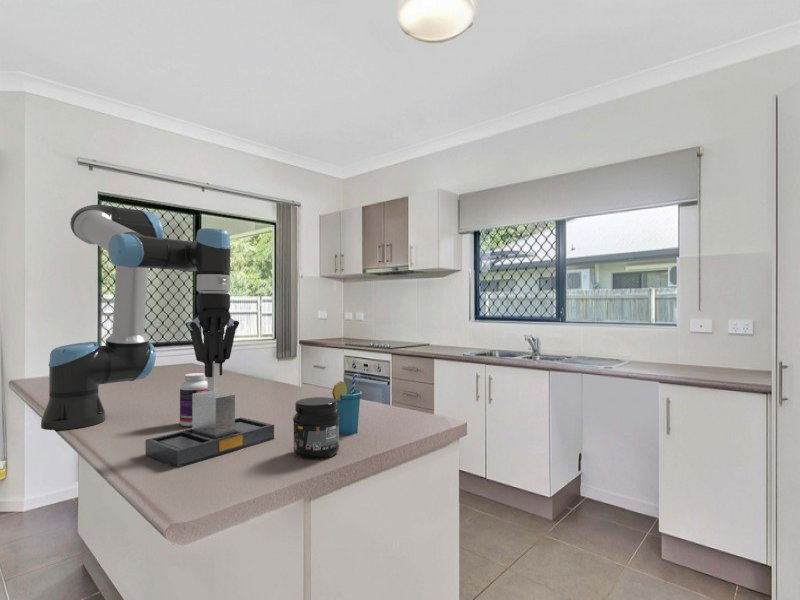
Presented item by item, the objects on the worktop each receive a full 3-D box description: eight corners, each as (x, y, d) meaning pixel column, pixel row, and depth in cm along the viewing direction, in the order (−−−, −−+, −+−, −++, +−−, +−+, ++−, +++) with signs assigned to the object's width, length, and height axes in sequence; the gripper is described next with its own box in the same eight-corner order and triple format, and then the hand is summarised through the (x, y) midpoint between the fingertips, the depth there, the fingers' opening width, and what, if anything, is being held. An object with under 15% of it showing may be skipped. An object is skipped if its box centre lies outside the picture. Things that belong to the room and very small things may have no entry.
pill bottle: (198, 428, 123) (198, 376, 124) (173, 427, 125) (173, 376, 125) (216, 421, 131) (216, 372, 132) (192, 419, 133) (192, 371, 133)
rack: (145, 455, 101) (145, 439, 101) (241, 430, 121) (241, 417, 121) (177, 468, 92) (178, 451, 93) (274, 439, 113) (274, 425, 113)
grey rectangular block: (192, 442, 108) (192, 393, 108) (211, 437, 112) (211, 390, 112) (215, 450, 102) (215, 398, 102) (234, 444, 106) (234, 394, 106)
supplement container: (299, 446, 107) (299, 396, 108) (342, 446, 107) (342, 396, 107) (287, 461, 97) (287, 406, 97) (335, 461, 96) (334, 406, 97)
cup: (348, 423, 128) (347, 371, 128) (372, 425, 125) (372, 372, 126) (324, 436, 115) (324, 378, 115) (351, 439, 112) (351, 380, 112)
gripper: (196, 291, 100) (196, 396, 100) (246, 293, 111) (246, 387, 110) (179, 292, 104) (178, 392, 104) (228, 293, 115) (228, 384, 115)
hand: (213, 390), depth 107 cm, fingers closed
